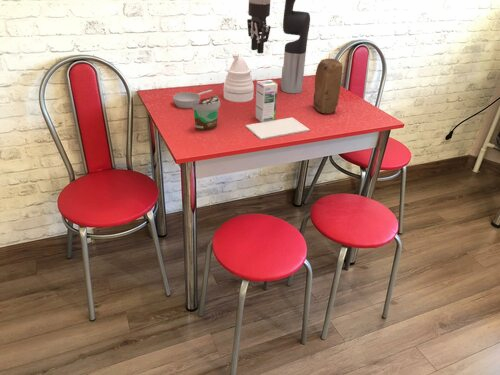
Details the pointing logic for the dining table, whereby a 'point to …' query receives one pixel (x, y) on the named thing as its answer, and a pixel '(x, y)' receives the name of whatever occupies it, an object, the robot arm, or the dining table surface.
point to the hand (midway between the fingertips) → (257, 51)
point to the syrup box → (266, 100)
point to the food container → (206, 113)
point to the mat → (277, 128)
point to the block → (327, 85)
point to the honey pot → (238, 82)
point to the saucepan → (187, 99)
